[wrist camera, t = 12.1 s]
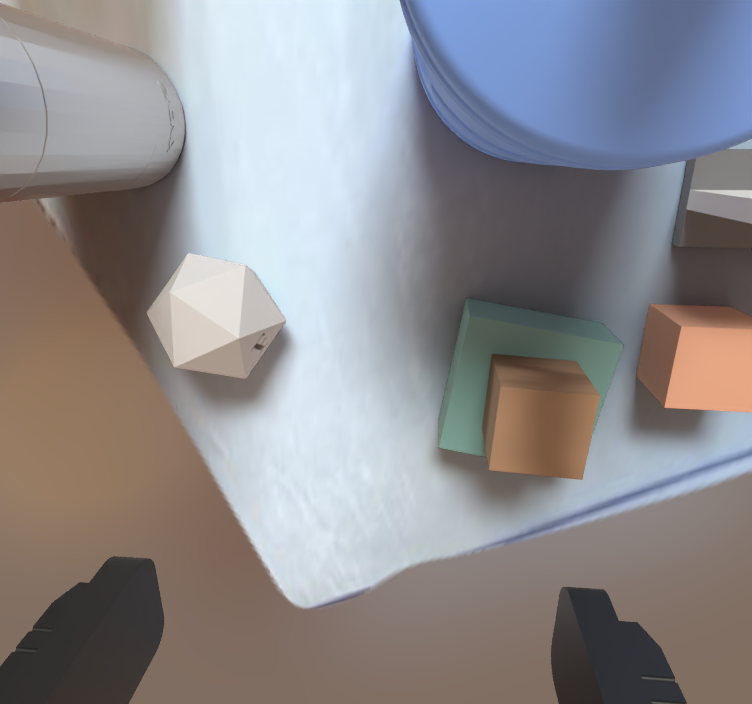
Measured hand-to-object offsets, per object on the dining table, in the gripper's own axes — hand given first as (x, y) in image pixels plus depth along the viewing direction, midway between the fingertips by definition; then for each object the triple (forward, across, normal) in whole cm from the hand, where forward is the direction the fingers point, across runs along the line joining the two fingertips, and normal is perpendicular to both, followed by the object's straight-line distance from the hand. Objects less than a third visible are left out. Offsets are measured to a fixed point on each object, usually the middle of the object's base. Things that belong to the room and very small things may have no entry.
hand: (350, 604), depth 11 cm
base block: (+31, -9, +8) cm, 33 cm away
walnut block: (+26, -9, +7) cm, 28 cm away
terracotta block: (+30, -20, +5) cm, 37 cm away
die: (+31, +13, +3) cm, 34 cm away
